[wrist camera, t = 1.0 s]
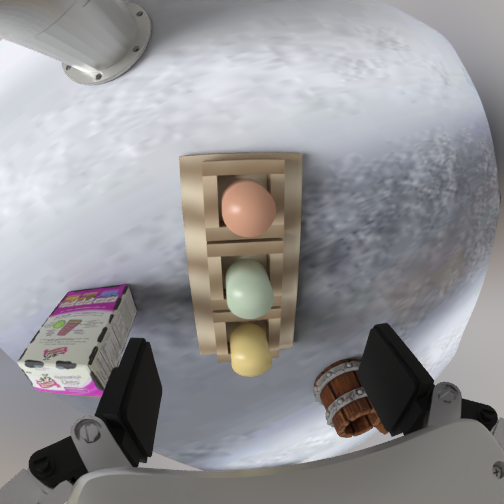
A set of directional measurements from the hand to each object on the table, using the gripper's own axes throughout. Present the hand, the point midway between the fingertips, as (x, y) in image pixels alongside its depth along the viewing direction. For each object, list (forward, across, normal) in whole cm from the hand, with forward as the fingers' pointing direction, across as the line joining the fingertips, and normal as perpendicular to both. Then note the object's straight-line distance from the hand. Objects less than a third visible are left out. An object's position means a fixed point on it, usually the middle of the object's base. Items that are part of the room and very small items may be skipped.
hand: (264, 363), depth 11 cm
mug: (+26, -20, +32) cm, 46 cm away
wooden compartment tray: (+25, -1, +6) cm, 25 cm away
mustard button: (+21, -1, +15) cm, 26 cm away
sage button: (+21, -1, +6) cm, 22 cm away
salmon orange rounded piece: (+21, -1, -3) cm, 21 cm away
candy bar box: (+25, +20, +12) cm, 34 cm away
